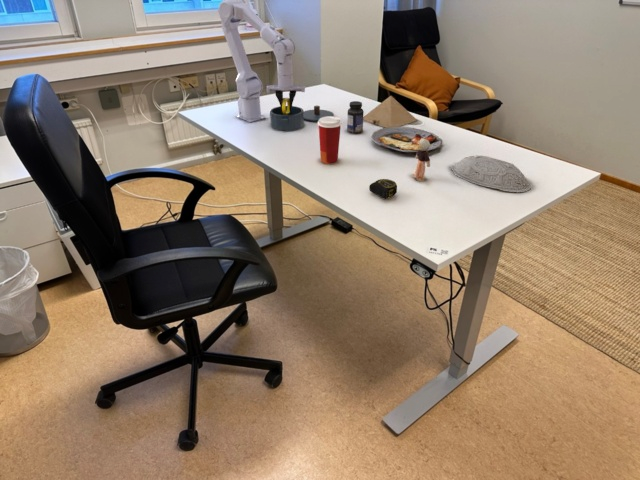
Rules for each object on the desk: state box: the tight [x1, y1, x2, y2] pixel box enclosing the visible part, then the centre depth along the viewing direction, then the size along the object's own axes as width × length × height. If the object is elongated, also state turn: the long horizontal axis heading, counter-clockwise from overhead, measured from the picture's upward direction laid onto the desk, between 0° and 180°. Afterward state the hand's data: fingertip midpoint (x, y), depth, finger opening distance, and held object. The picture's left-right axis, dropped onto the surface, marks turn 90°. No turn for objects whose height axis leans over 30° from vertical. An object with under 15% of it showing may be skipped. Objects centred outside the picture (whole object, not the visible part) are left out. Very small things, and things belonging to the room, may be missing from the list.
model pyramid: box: [363, 95, 418, 128], centre depth 182 cm, size 17×17×10 cm
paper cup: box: [317, 116, 342, 165], centre depth 145 cm, size 8×8×14 cm
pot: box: [269, 105, 305, 132], centre depth 177 cm, size 13×18×6 cm
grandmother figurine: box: [411, 139, 431, 182], centre depth 134 cm, size 8×4×13 cm, turn 29°
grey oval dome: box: [450, 154, 532, 193], centre depth 137 cm, size 16×25×7 cm, turn 44°
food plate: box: [370, 126, 443, 154], centre depth 161 cm, size 25×23×4 cm
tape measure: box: [368, 178, 398, 200], centre depth 127 cm, size 7×7×4 cm
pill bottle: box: [346, 100, 364, 135], centre depth 170 cm, size 6×6×11 cm
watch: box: [282, 97, 290, 114], centre depth 175 cm, size 6×3×6 cm, turn 162°
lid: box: [303, 105, 335, 122], centre depth 187 cm, size 14×14×4 cm
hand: (286, 110), depth 176 cm, fingers closed on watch, 2 cm apart
